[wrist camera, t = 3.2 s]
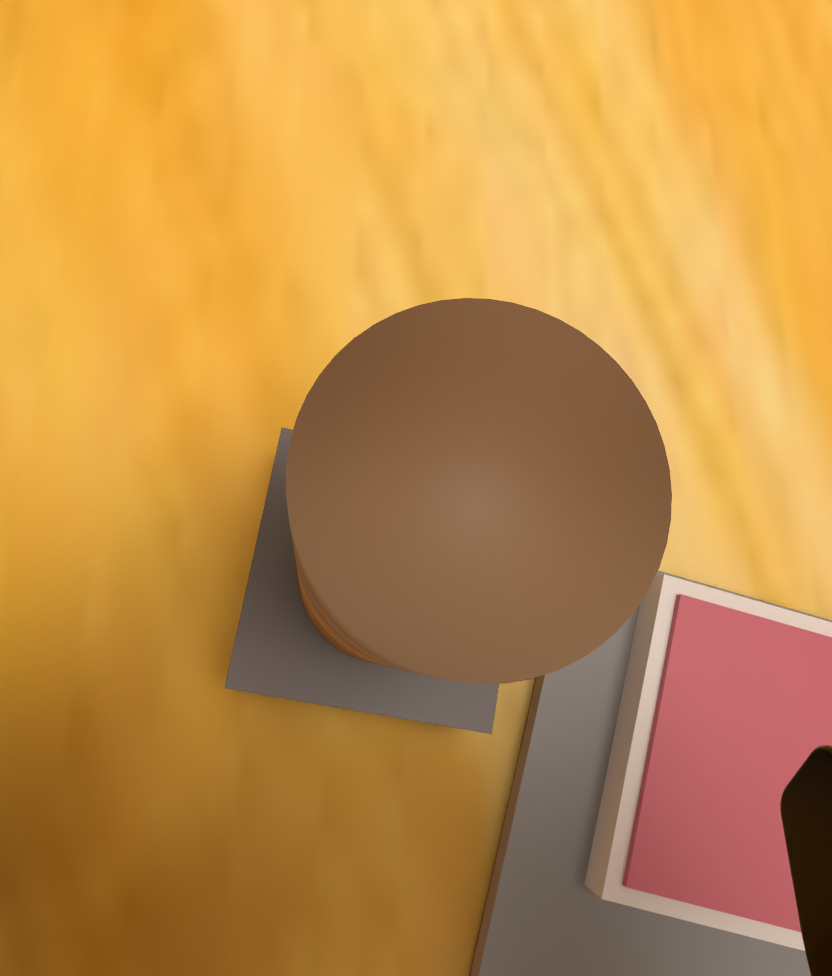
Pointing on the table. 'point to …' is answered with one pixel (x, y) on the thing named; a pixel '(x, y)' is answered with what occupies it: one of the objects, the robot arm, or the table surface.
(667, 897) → the stamp board
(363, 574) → the stamp
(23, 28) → the table surface
